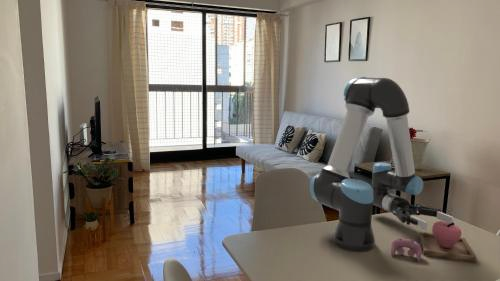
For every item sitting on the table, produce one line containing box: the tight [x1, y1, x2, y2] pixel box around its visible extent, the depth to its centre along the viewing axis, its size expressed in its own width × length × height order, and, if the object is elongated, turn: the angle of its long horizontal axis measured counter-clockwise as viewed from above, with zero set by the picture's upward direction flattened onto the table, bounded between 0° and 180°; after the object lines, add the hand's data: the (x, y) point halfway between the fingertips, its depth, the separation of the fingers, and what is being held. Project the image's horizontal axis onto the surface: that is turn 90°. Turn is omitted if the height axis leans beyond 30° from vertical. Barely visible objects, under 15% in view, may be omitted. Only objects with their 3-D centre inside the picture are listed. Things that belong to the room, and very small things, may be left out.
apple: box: [431, 220, 462, 248], centre depth 137 cm, size 10×9×10 cm
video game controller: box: [390, 238, 423, 262], centre depth 132 cm, size 10×5×7 cm, turn 66°
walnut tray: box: [418, 232, 477, 264], centre depth 138 cm, size 16×16×2 cm
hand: (439, 223), depth 140 cm, fingers open, 13 cm apart
